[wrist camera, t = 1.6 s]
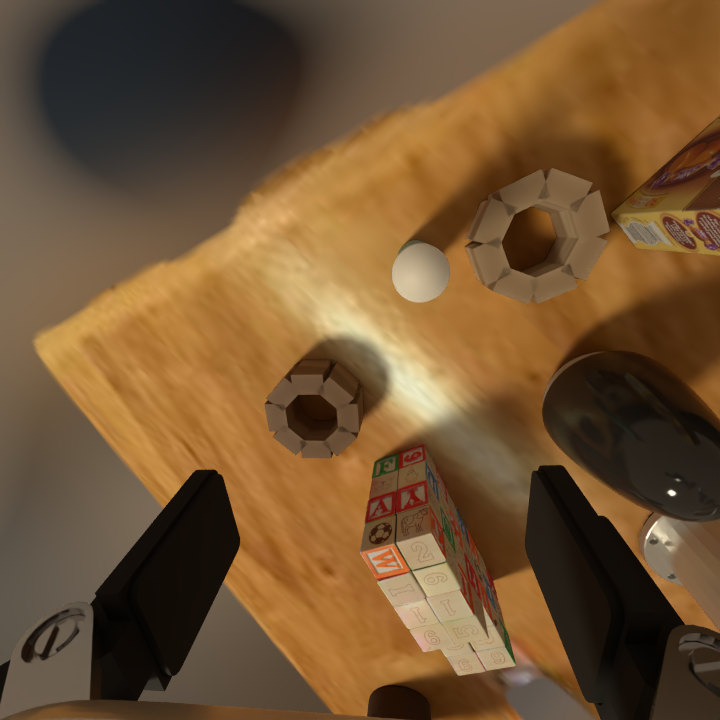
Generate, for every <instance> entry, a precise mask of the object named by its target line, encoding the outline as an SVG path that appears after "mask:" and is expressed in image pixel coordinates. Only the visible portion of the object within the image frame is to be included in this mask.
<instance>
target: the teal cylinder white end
mask: <svg viewBox="0 0 720 720" xmlns="http://www.w3.org/2000/svg"><path fill="white" fill-rule="evenodd" d="M449 277H450V267H449V263H448V260H447V258H446V257H445V255H444V254H443V253H442V252H441V251H440V250H439V249H437V248H436V247H434V246H432V245H430V244H427V243H425V242H423V241H420V240H412V241H409V242H407V243H405V244H404V245H403V246H402V248H401V249H400V251H399V254H398V256H397V258H396V260H395V263H394V266H393V270H392V280H393V284H394V286H395V288H396V290H397V291H398V293H399V294H400V295H401V296H403V297H404V298H405V299H407V300H409V301H413V302H427V301H430V300H432V299H434V298H436V297H437V296H439V295H440V294H441V293H442V292H443V291H444V289H445V288H446V286H447V284H448V281H449Z"/></svg>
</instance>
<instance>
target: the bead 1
mask: <svg viewBox="0 0 720 720" xmlns="http://www.w3.org/2000/svg"><path fill="white" fill-rule="evenodd" d="M358 384H359V380H358V379H357V378H355V377H354V376H353V375H352V374H351V373H350V372H349V371H347V370H346V369H345V368H344V367H343V366H342V365H340V364H339V363H338V362H337V363H336V364H335V365H334V366H333V367H332V362H331V360H302V362H301V363H300V364H298V363H296V364H295V366H294V367H293V368H292V369H291V370H290V371H289V372H288V373H287V375H286V376H285V377H284V378H283V379H282V380H281V381H280V383H279V384H278V385H277V386H276V387H275V388H274V390H273V391H272V392H271V393H270V394H269V396H268V397H267V398H266V399H268V401H267V402H266V403H265V409H266V415H267V421H268V427H269V431H276V433H275V434H274V436H273V437H274V438H275V439H276V440H277V441H279V442H280V443H281V444H282V445H284V446H285V447H286V448H287V449H289V450H290V451H291V452H292V453H294V454H295V455H297V454H298V453H299V452H300V451H301V453H302V458H332V455H333V453H334V454H335V455H336V456H338V455H339V454H340V453H341V452H342V451H344V450H345V449H346V448H347V447H348V446H349V445H350V444H351V443H352V442H353V441H354V440H355V439H357V436H358V432H360V427H361V423H362V419H363V414H364V404H363V389H362V386H358ZM298 395H321V396H322V397H323V398H324V399H326V400H327V401H328V402H329V403H330V404H331V405H333V406H334V407H335V408H336V409H337V417H336V418H335V419H334V420H313V419H312V418H311V417H310V416H309V415H307V414H306V413H305V412H304V411H303V410H301V409H300V406H299V399H298Z"/></svg>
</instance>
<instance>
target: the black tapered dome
mask: <svg viewBox="0 0 720 720" xmlns="http://www.w3.org/2000/svg"><path fill="white" fill-rule="evenodd" d="M542 416H543V422H544V426H545V428H546V430H547V432H548V434H549V436H550V437H551V439H552V440H553V441H554V443H555V444H556V445H557V446H558V447H559V448H560V449H561V450H562V451H563V452H564V453H565V454H566V455H567V456H568V457H569V458H570V459H571V460H572V461H573V462H574V463H576V464H577V465H578V466H579V467H580V468H582V469H583V470H584V471H585V472H587V473H588V474H589V475H591V476H592V477H593V478H595V479H596V480H598V481H599V482H600V483H602V484H603V485H605V486H606V487H608V488H609V489H611V490H612V491H614V492H615V493H617V494H619V495H620V496H622V497H623V498H625V499H627V500H629V501H630V502H632V503H634V504H636V505H638V506H640V507H642V508H644V509H647V510H649V511H651V512H654V513H656V514H659V515H662V516H665V517H668V518H672V519H676V520H680V521H685V522H694V523H702V522H710V521H715V520H718V519H720V419H719V418H718V417H717V416H716V415H715V413H714V412H713V411H712V410H711V409H710V408H709V406H708V405H707V404H706V403H705V402H704V401H703V400H702V399H701V398H700V397H699V395H698V394H697V393H696V392H695V391H693V390H692V389H691V388H690V387H689V386H688V385H687V384H686V383H685V382H684V381H682V380H681V379H680V378H679V377H678V376H676V375H675V374H674V373H673V372H671V371H670V370H669V369H668V368H666V367H665V366H663V365H662V364H660V363H658V362H657V361H655V360H653V359H651V358H649V357H647V356H645V355H642V354H639V353H635V352H630V351H606V352H595V353H590V354H586V355H583V356H580V357H577V358H575V359H573V360H571V361H569V362H568V363H566V364H565V365H564V366H562V367H561V368H560V369H559V370H558V371H557V372H556V373H555V374H554V375H553V377H552V378H551V380H550V381H549V383H548V385H547V387H546V390H545V393H544V399H543V408H542Z"/></svg>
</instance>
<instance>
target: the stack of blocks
mask: <svg viewBox="0 0 720 720" xmlns="http://www.w3.org/2000/svg"><path fill="white" fill-rule="evenodd" d="M360 554H361V555H362V557H363V558H364V560H365V562H366V563H367V565H368V566H369V568H370V570H371V571H372V573H373V574H374V576H375V577H376V578H377V582H378V585H379V586H380V588H381V589H382V591H383V592H384V594H385V595H386V597H387V598H388V600H389V601H390V603H391V604H392V605H393V607H394V609H395V611H396V612H397V614H398V615H399V617H400V618H401V620H402V621H403V623H404V624H405V626H406V627H407V628H408V629H409V630H410V632H411V634H412V635H413V637H414V638H415V640H416V641H417V643H418V644H419V646H420V647H421V649H422V650H423V652H428V651H433V650H437V649H441V650H442V652H443V654H444V655H445V656H446V657H447V658H448V660H449V662H450V664H451V665H452V667H453V669H454V670H455V672H456V673H457V675H458V676H461V675H467V674H473V673H480V672H485V671H486V670H494V669H500V668H506V667H512V666H516V663H515V659H514V655H513V651H512V647H511V643H510V639H509V636H508V633H507V631H506V628H505V624H504V620H503V616H502V612H501V609H500V605H499V603H498V598H497V594H496V590H495V587H494V583H493V580H492V578H491V576H490V574H489V572H488V571H487V569H486V567H485V563H484V561H483V559H482V557H481V555H480V553H479V551H478V549H477V547H476V546H475V543H474V541H473V539H472V537H471V535H470V533H469V531H468V529H467V528H466V527H465V525H464V523H463V521H462V519H461V517H460V515H459V513H458V511H457V509H456V508H455V505H454V503H453V501H452V499H451V497H450V495H449V493H448V491H447V489H446V486H445V484H444V482H443V480H442V478H441V476H440V474H439V472H438V470H437V468H436V466H435V463H434V461H433V459H432V457H431V455H430V453H429V451H428V449H427V447H426V445H425V444H424V445H421V446H418V447H415V448H412V449H409V450H406V451H404V452H401V453H399V454H396V455H393V456H390V457H387V458H385V459H382V460H379V461H376V462H375V463H374V468H373V473H372V484H371V490H370V496H369V500H368V504H367V511H366V517H365V527H364V532H363V538H362V544H361V549H360Z"/></svg>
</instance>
